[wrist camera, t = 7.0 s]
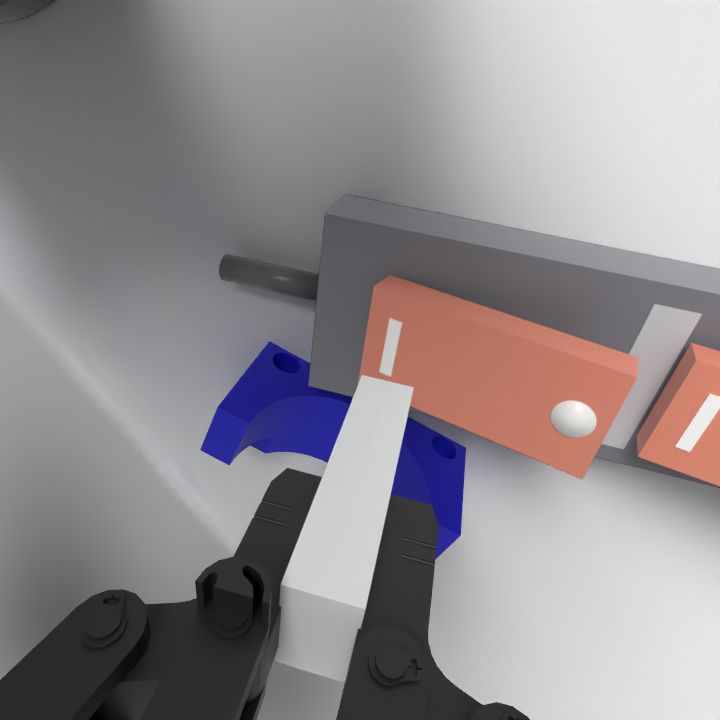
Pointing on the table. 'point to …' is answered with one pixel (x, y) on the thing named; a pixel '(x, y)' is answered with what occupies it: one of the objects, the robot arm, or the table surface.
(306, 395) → the cable clip
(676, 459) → the rocker
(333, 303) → the power strip
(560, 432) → the rocker
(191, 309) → the table surface
